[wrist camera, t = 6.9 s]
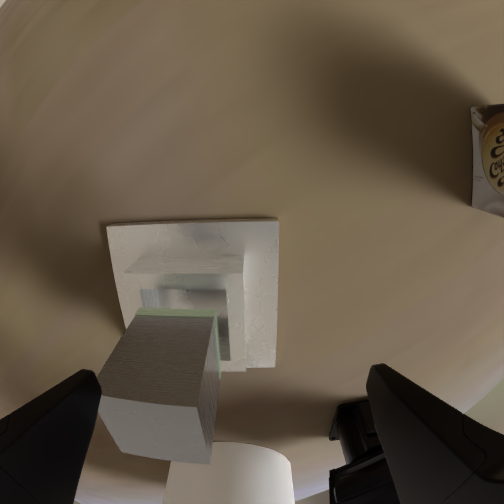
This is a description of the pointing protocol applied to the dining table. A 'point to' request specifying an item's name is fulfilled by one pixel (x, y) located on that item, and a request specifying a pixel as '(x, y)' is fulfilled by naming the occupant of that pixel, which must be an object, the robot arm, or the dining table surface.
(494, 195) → the coffee box
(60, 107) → the dining table surface
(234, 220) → the sleeve block
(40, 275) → the dining table surface
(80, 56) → the dining table surface
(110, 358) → the column
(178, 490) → the canister
